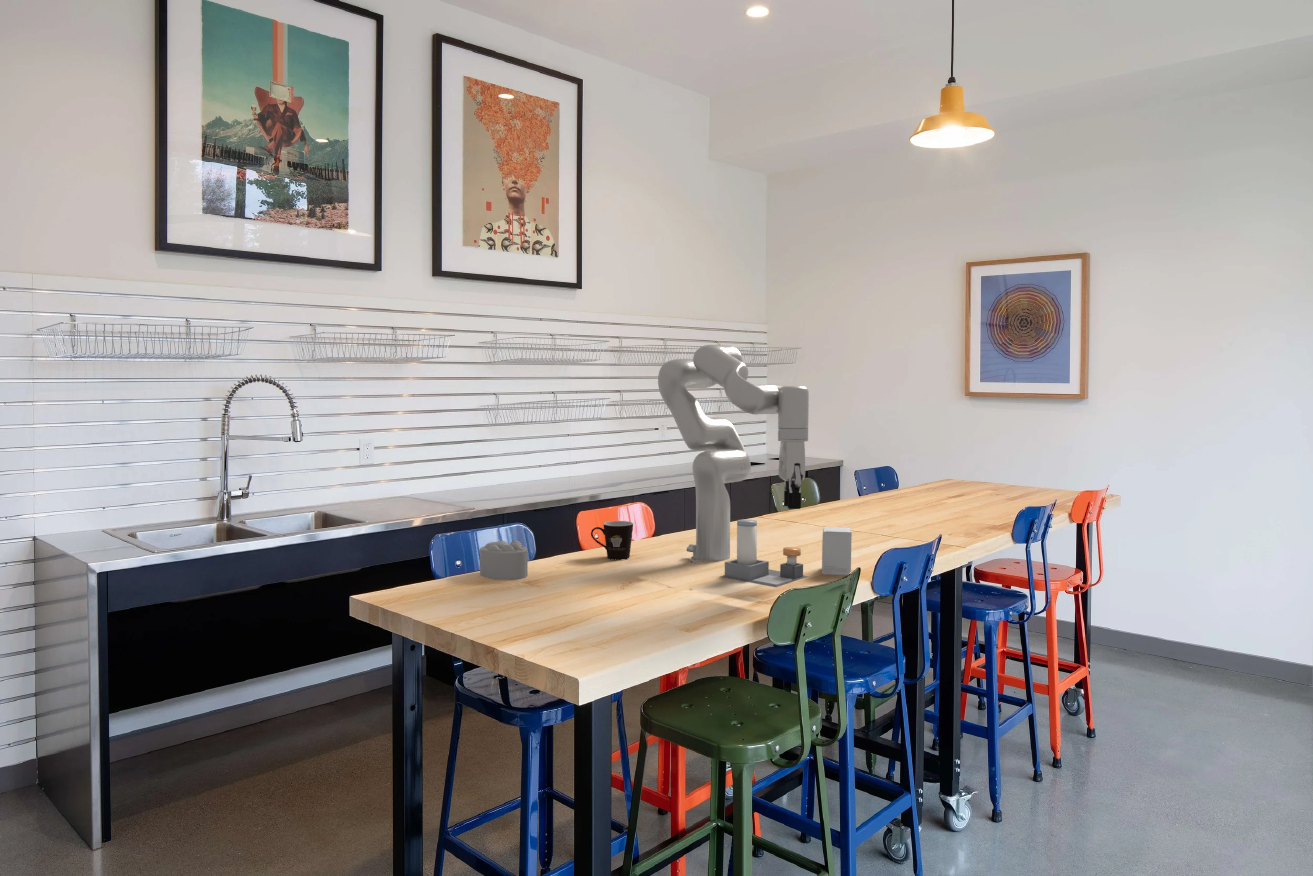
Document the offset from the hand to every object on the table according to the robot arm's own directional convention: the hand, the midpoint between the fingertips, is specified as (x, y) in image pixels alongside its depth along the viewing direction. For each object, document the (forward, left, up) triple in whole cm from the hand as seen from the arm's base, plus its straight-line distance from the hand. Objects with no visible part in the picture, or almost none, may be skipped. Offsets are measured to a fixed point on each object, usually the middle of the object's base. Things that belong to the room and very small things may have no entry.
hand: (792, 506), depth 217 cm
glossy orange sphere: (0, 0, -15) cm, 15 cm away
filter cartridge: (-9, -7, -18) cm, 21 cm away
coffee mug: (-55, -8, -19) cm, 59 cm away
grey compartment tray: (-5, -5, -19) cm, 21 cm away
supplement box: (+6, +12, -20) cm, 24 cm away
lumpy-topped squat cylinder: (-61, -43, -20) cm, 77 cm away
